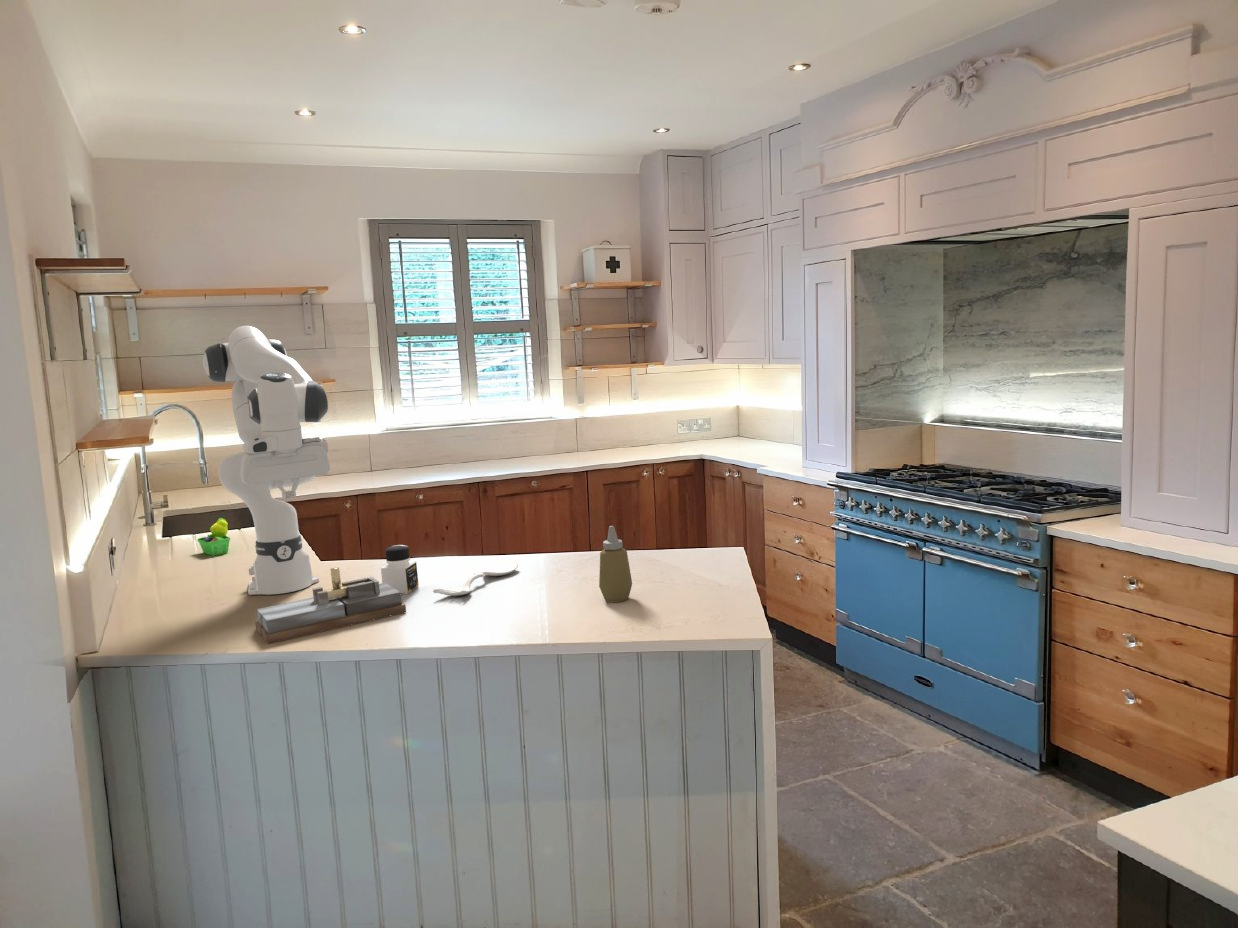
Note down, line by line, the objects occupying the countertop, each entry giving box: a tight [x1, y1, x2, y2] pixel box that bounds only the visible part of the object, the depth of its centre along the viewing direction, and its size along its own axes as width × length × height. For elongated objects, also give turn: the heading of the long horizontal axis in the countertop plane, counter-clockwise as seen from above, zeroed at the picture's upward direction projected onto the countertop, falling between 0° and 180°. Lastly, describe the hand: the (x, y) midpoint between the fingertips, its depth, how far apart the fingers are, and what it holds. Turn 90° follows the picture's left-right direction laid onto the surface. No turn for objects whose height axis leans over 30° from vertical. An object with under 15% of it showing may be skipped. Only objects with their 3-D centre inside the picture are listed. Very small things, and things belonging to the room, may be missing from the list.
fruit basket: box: [197, 517, 231, 557], centre depth 303 cm, size 11×9×11 cm
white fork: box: [432, 560, 519, 597], centre depth 239 cm, size 9×32×4 cm, turn 158°
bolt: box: [323, 566, 365, 600], centre depth 216 cm, size 2×10×7 cm, turn 123°
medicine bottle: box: [380, 544, 420, 595], centre depth 237 cm, size 7×7×12 cm
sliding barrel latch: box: [254, 576, 407, 644], centre depth 214 cm, size 14×32×8 cm, turn 123°
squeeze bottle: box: [598, 525, 633, 603], centre depth 215 cm, size 8×8×18 cm
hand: (289, 497), depth 217 cm, fingers closed
